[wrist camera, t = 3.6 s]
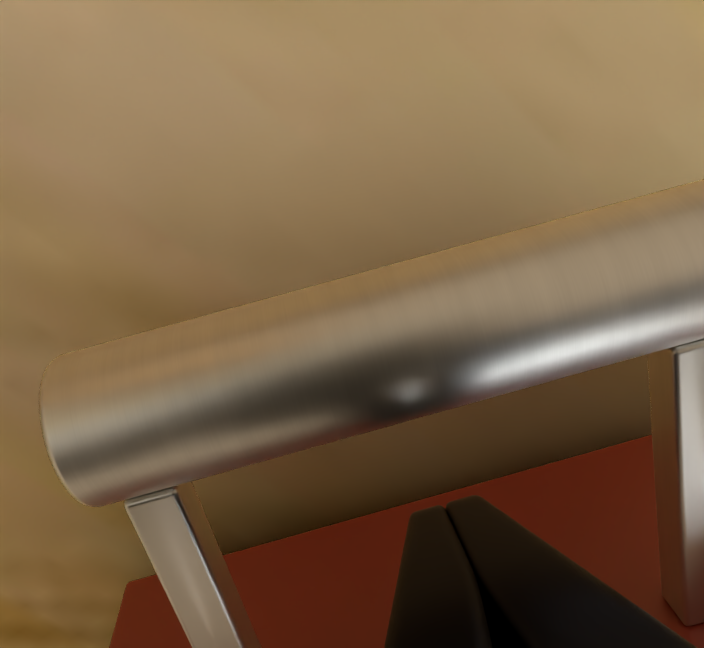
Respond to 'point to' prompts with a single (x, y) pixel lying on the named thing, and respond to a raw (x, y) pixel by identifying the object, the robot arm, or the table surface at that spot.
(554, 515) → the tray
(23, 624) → the table surface
